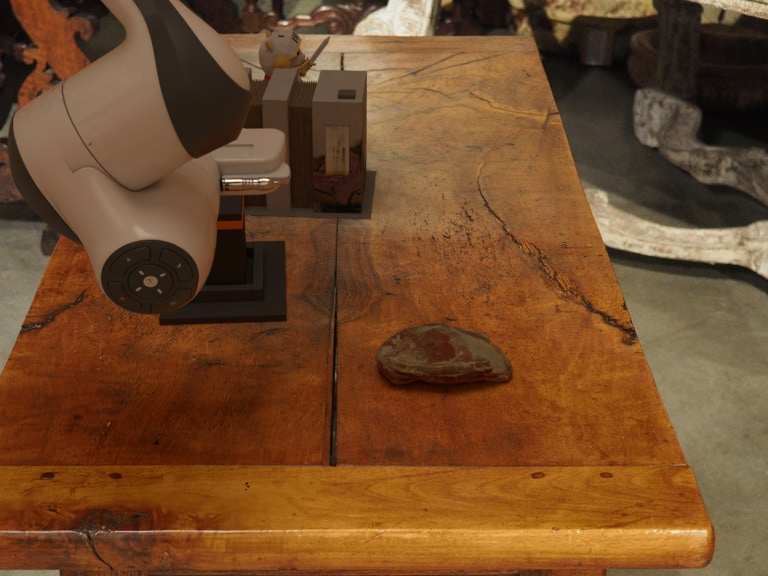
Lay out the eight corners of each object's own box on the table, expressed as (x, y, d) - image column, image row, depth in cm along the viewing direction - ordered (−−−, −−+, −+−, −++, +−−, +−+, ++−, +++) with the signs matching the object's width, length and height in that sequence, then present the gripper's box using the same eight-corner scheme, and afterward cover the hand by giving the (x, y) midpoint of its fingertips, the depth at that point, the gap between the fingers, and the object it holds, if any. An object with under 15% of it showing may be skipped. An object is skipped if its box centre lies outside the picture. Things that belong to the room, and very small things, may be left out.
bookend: (370, 219, 142) (372, 102, 134) (183, 213, 143) (173, 97, 135) (376, 170, 156) (377, 62, 148) (205, 165, 157) (197, 57, 149)
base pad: (159, 325, 119) (157, 307, 117) (172, 249, 134) (171, 232, 133) (286, 320, 120) (285, 303, 119) (284, 245, 135) (284, 229, 134)
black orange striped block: (205, 293, 123) (199, 214, 118) (209, 263, 129) (203, 187, 124) (246, 291, 124) (241, 213, 119) (247, 262, 130) (243, 186, 125)
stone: (481, 335, 118) (483, 310, 117) (517, 383, 110) (519, 358, 108) (364, 351, 115) (365, 326, 113) (392, 403, 106) (393, 377, 105)
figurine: (312, 140, 166) (311, 45, 158) (241, 134, 167) (236, 40, 160) (330, 111, 177) (330, 21, 169) (263, 105, 178) (259, 16, 171)
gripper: (290, 151, 90) (288, 94, 102) (41, 156, 88) (68, 97, 100) (292, 219, 93) (289, 156, 105) (51, 224, 91) (76, 159, 103)
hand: (179, 127), depth 103 cm, fingers open, 8 cm apart
